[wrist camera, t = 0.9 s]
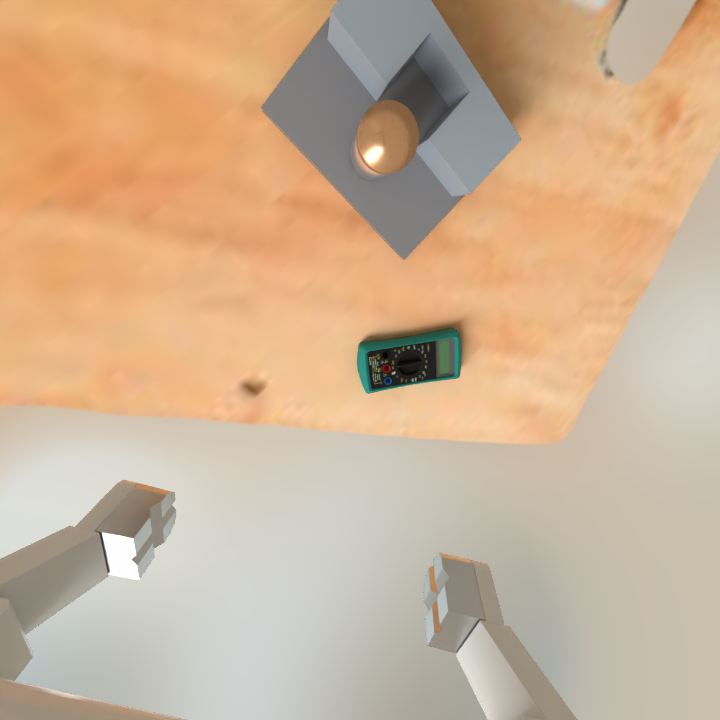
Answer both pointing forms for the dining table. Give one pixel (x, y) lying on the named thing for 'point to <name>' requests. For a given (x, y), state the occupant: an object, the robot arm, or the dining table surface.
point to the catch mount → (403, 84)
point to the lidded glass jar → (384, 140)
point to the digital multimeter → (409, 360)
